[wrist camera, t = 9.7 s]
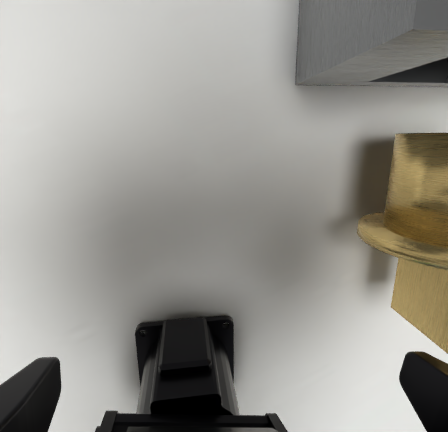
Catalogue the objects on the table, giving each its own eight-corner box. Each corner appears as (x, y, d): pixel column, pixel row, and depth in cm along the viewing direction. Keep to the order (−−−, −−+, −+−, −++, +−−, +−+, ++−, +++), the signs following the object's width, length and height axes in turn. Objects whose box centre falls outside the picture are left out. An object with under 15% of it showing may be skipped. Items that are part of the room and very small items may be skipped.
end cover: (432, 282, 22) (581, 368, 13) (324, 291, 20) (416, 390, 12) (461, 133, 19) (670, 130, 11) (338, 134, 18) (468, 131, 10)
